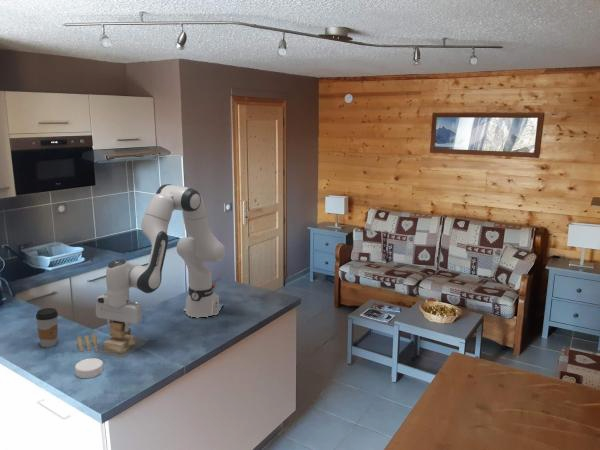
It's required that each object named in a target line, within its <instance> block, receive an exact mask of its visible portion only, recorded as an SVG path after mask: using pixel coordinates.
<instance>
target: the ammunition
mask: <svg viewBox="0 0 600 450" xmlns="http://www.w3.org/2000/svg"><path fill="white" fill-rule="evenodd" d="M76 340H77V342H76V343H77V347H78V349H79V353H83V352H84V347H83V339H82V336H78V337H76ZM90 342H92V345H93V348H94V350H95V351H97V350H99V344H98V337H97V334H92V335H91V341H90V336H89V335H84V344H85V345H84V346H85V347H86V351H87V352H90V351H91V349H92V348H91V343H90Z"/></svg>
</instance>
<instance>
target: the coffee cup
mask: <svg viewBox="0 0 600 450" xmlns="http://www.w3.org/2000/svg"><path fill="white" fill-rule="evenodd" d="M58 316H59V314H58V311H57V309H56V308H53V307H46V308H41V309H39V310H37V311H36V314H35V319H36V324H37V331H38V332H37V333H38V338H39V345H40V346H41V347H42V348H52V347H54V346H56V345H57V343H58V333H59V332H58V326H59V325H58Z"/></svg>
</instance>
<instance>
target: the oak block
mask: <svg viewBox="0 0 600 450" xmlns="http://www.w3.org/2000/svg"><path fill="white" fill-rule="evenodd" d="M125 326H126V325H125V322H120V321H114V320H112V322H110V325H109V333H110V334H109V335H110V337H117V338H122V337H123V336H125V335H126V334H128V331H127V332H124V331H123V327H125Z"/></svg>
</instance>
